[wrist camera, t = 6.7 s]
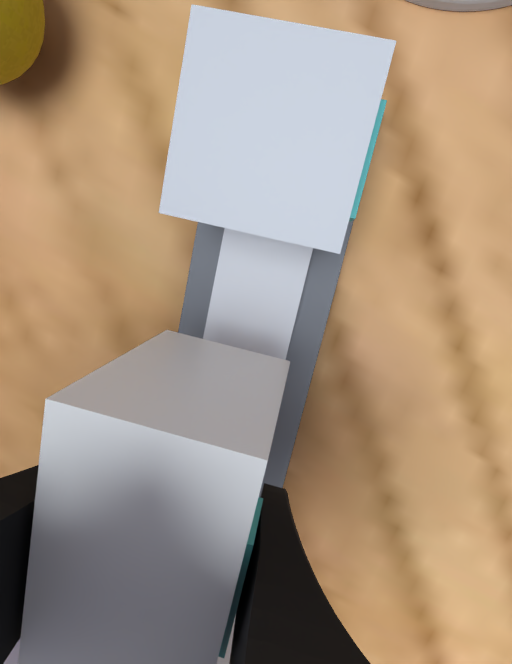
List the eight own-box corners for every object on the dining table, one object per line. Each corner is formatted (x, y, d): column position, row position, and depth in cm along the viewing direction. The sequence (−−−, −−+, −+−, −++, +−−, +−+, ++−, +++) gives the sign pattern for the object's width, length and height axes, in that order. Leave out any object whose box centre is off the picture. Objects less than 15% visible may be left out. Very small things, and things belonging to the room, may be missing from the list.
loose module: (295, 362, 13) (275, 462, 7) (241, 574, 15) (190, 795, 9) (166, 329, 13) (46, 398, 7) (130, 540, 15) (10, 730, 9)
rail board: (241, 637, 22) (209, 800, 15) (134, 603, 22) (61, 746, 16) (381, 110, 16) (424, 20, 9) (230, 81, 16) (175, -23, 10)
